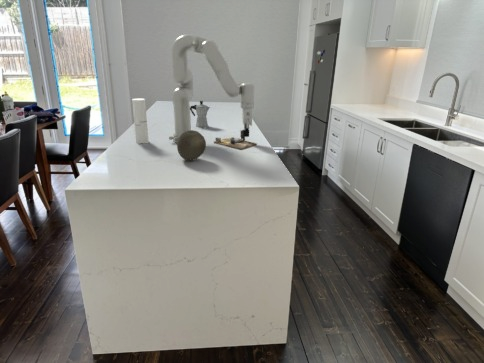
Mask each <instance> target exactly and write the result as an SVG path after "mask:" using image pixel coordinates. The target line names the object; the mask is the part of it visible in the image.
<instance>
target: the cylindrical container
mask: <svg viewBox="0 0 484 363" xmlns="http://www.w3.org/2000/svg"><path fill="white" fill-rule="evenodd" d="M131 102H132V111H133V112H132V113H133V114H132V115H133V123H134V132H135V142H136V144H140V143H143V144H147V142H148V143H149V132H148V119H147V117H148V116H147V108H146V107H147V105H146V98H138V97H137V98H132V99H131Z"/></svg>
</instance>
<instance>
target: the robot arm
mask: <svg viewBox="0 0 484 363" xmlns="http://www.w3.org/2000/svg"><path fill="white" fill-rule="evenodd" d="M171 47H172V48H171V57H172V58H171V59H172V60H171V61H172V63H171V64H172V79H173V82H174V83H175V84H176V85H177V86H176V87H177V88H175V89H174V91H173V92H172V97H171V98H172V99H171V100H172V105H173V117H174V133H173V134H172V136H169V137H168V139H169V141H171V140H172V142H174V143H177V142H178V139H179V137H180V135H181V134H182V133H184V132H186V131H189V130H192V125H191V124H192V122H191V120H192V118H191V117H192V116H191V110H190V107H191V105H190V101H191V100H192V99H193V96H194V82H193V80H194V79H193V76H194V75H193V72H192V70H191V69H190V68H189V65H188V61H189V59H188V52H194V53H198V54H201V55H203V56H204V58H205V60H206V62H208V64H209V66H210V67H211V69H212V70H213V72H214V74H215V76H216V79H217V81H219V84H220V85H221V87H222V88H223V90H224V91H225V93H226V94H227V96H228V97H230V98H236V97H238V96H240V109H242V114H241V115H242V125H243V130H244V137H245V138H248V137H250V127H252V126H253V109H254V102H255V85H254V83H251V82H244V83H242V82H238V81H237V82H236V81H235V79H234V77H233V76H232V74H231V71H230V69H229V65H228V63H227V61H226V60H225V58H224V56H223V55H222V53H221V51H220V50H219V46H218V44H217V42H216V41H214V40H212V39H206V38H203V37H200V36H196V35H194V34H187V33H186V34H182V35H180V36H179V37H177V38H176V39H175V40H174V42H173V43H172V46H171Z"/></svg>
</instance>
